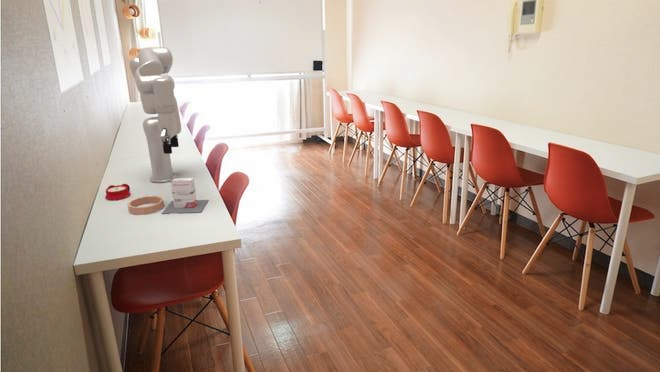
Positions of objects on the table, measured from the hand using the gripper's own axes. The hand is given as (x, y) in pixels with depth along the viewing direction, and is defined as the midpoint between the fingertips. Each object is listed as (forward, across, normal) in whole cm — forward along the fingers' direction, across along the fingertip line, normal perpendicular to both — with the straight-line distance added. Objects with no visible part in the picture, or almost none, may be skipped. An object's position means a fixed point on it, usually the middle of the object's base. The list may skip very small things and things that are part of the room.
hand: (171, 150), depth 182 cm
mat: (+24, +5, +4) cm, 25 cm away
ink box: (+24, +5, +4) cm, 24 cm away
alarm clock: (+25, -13, -31) cm, 42 cm away
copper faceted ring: (+24, +5, -12) cm, 27 cm away
